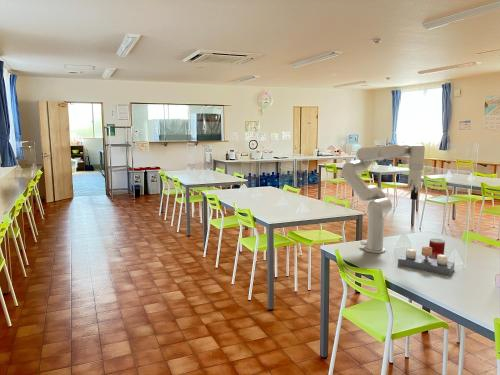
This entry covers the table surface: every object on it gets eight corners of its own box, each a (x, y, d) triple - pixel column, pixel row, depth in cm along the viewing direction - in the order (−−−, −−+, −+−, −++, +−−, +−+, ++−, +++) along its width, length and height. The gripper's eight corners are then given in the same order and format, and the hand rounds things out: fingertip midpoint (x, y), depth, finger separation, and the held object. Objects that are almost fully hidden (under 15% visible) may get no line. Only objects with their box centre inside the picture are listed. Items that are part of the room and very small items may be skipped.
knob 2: (435, 269, 219) (436, 256, 217) (437, 267, 223) (438, 253, 221) (445, 271, 216) (446, 258, 214) (447, 269, 220) (448, 255, 218)
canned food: (444, 261, 234) (446, 242, 233) (429, 260, 236) (431, 241, 234) (441, 257, 242) (443, 239, 240) (427, 256, 243) (428, 238, 242)
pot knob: (419, 261, 223) (421, 247, 222) (422, 258, 227) (423, 245, 225) (429, 263, 220) (430, 249, 219) (432, 260, 224) (433, 246, 223)
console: (397, 265, 227) (398, 258, 226) (404, 259, 236) (404, 253, 236) (449, 276, 211) (449, 268, 211) (453, 269, 221) (454, 262, 220)
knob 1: (404, 263, 228) (405, 250, 227) (407, 261, 232) (407, 248, 231) (413, 265, 225) (414, 252, 224) (416, 263, 229) (417, 250, 228)
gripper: (412, 165, 238) (410, 196, 240) (405, 167, 226) (402, 200, 229) (426, 166, 233) (424, 198, 236) (419, 168, 221) (417, 202, 224)
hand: (413, 199), depth 232 cm, fingers closed
